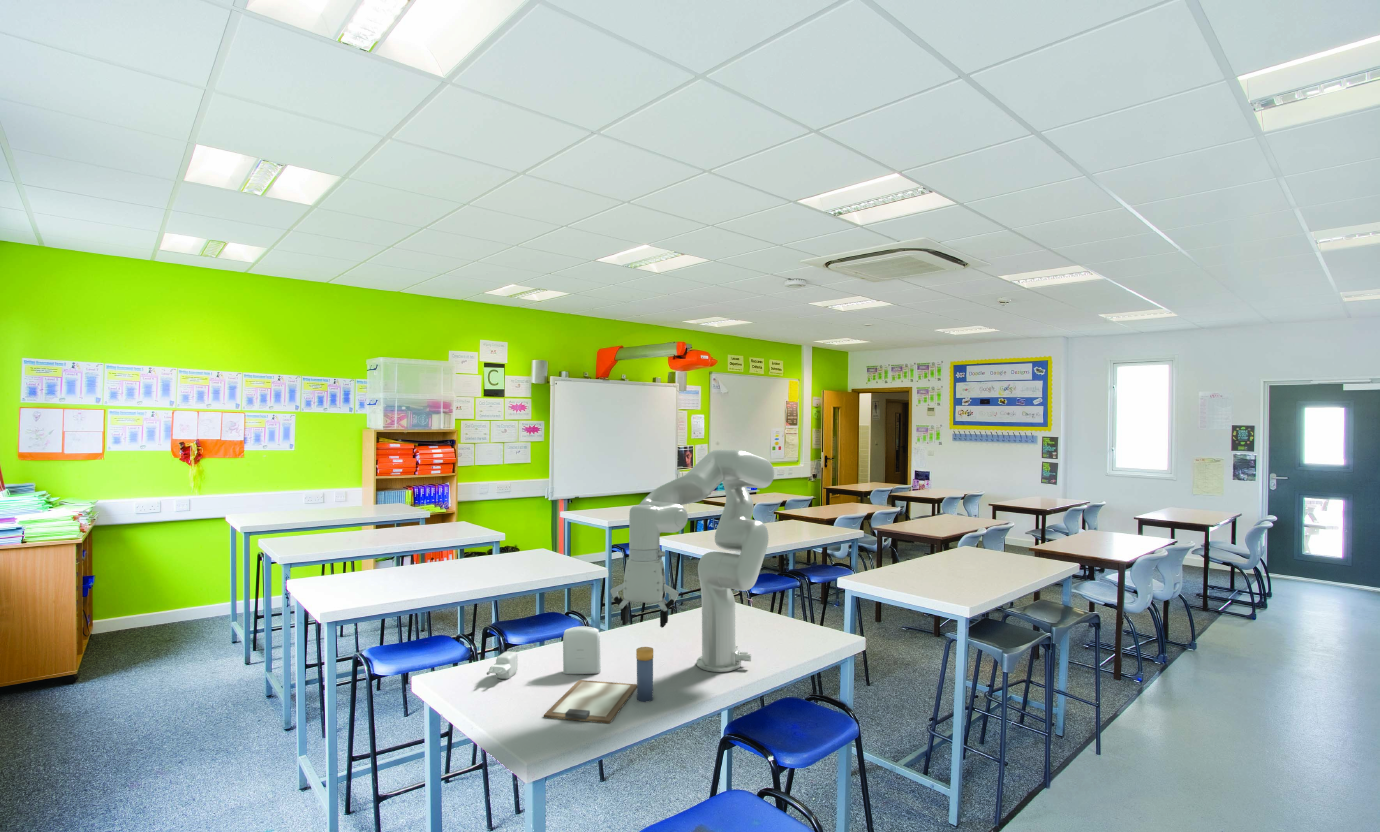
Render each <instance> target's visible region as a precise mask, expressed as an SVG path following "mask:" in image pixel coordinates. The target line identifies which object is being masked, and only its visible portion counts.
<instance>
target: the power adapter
mask: <svg viewBox="0 0 1380 832" xmlns="http://www.w3.org/2000/svg"><path fill="white" fill-rule="evenodd" d="M518 659H519V658H518V652H516V651H508V650H507V651H504V652H503V653H500V655H498V656H497V657H496V659H495V663H494V664H493V665H491V666H490V667H489V669H488V671H487V672H486V675H487V676H488V675H490V674H495V677H496V678H497V679H502V680H508V679H510V678H512V677H513V676H514V675H516V674H517V672H518V664H519V663H518V661H519V660H518Z"/></svg>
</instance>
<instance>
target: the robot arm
mask: <svg viewBox="0 0 1380 832" xmlns="http://www.w3.org/2000/svg"><path fill="white" fill-rule="evenodd" d="M774 478H775V470H774V467H773V464H772V463H771V462H770V460H768V459H766V458H764V457H762V456H759V455H756V454H753V453H751V452H747V451H743V450H739V449H715V450H712V451H709V452H708V453H707V454H706V455H704V457H703V458H701V459H700V460H699V461H698V462H697V463H696V464H695V465H694V466H693V467H692V468H691V469H690V470H689V471H688V472H686V473H685V474H684V475H682V476H679V477H677V478H675V479H673V480H671V481H669V482H667V483H665V484H662V485H660V486H658V487H657V488H655V489H654V490H652V491H651V492H650V493H649V494H647V496H645V497H644V498H643V499H642V500H641V502H640V503H639V504H636V505H633V506H631V507H630V509H629V513H628V514H629V518H628V519H629V523H628V524H629V525H628V526H629V537H628V539H629V541H628V544H629V545H628V546H629V547H628V549H629V552H628V554H629V555H628V557H629V558H628V559H627V560H626V564H625V567H624V568H625V570H624V576H623V583H621V584H619V585H616V586H615V587H612V588H611V589H610V594H611V596H612V598H613V601H614V602H615V603H616V604H617V605H618V608H619V609H620V621H621V622H622V623H621V624H622V626H626V625H627V624H628V623H629V621H630V607H629V603H630V602H631V603H647V604H649V603H650V604H657V605H658V606H659V608H660V609H661V610H660V611H659V627H660V628H663V629H664V627H665V626H666V625H667V624H668V623H669V622H668V621H669V609H670V608H671V607H672V606H673V605H674V603H675V602H676V600H677V598H678V596H679V594H680V593H679V591H677V590H676V589H674V588H673V587H670V586H669V585H667V584H666V581H667V580H666V572H665V571H666V570H665V565H664V560H663V559H661V558H664V557H665V556H666V551H665V550H661V547H660V544H661V543H660V542H661V541H660V540H661V539H660V534H661V533H677V532H680V531H682V530H683V529H684V528H685V527H686V525H687V523H688V519H689V517H688V515H689V514H688V511H687V510H686V508H685V507H684V505H687V504H693V503H697V502H700V501H703V500H706V499H707V498H708V497H709V496H710V495H711V494H712V493H713V491H714V490H715V489H716V488H717V487H719V485H720V484H722V485H723V489H724V493H725V503H724V508H723V510H722V513H721V516H720V518H719V521H718V524H717V527H716V531H715V535H714V542H715V544H716V546H717V548H720V549H722V550H725V551H729V552H725V551H710V552H708V551H707V552H706V553H704V554H703V555H702V556H701V557H700V559H699V561H698V564H697V573H698V574H697V575H698V579H699V585H700V591H701V593H700V594H701V655H700V656H699V657H698V658H697V659H696V665H697V667H698V668H699V669H701V670H703V671H707V672H713V673H724V672H731V671H734V670H737V669H739V668H740V667H741V666H742V662H743V661H744V662H750V663H751V661H752V654H751V653H750V654H749V652H748V651H740V650H739V647H738V646H736V599H735V595H734V593H733V590H736V591H743V592H744V591H745V592H746V591H750V589H752V588H753V587H754V586H755V584H756V583H757V580H758V577H759V574H760V572H761V569H762V565H763V562H764V560H765V556H766V552H767V550H768V546H769V531H768V528H767V526H766V525H765V524H764V522H762V521H761V520H756V519H752V516H753V512H754V501H753V499H752V496H751V494H750V493H749V490H748V488H749V489H750V488H752V489H753V488H754V489H756V488H757V489H765V488H767V487H769V486H770V485H771V484H772V482H773V481H774ZM730 552H731V553H730ZM732 552H736V553H740V554H736V553H732ZM620 591H622V596H623V598H622V597H621V596H620V595H619V592H620ZM667 594H668V595H670V598H669V601H667V600H666V599H665V598H666V596H667Z"/></svg>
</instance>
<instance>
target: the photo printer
mask: <svg viewBox="0 0 1380 832" xmlns="http://www.w3.org/2000/svg"><path fill="white" fill-rule="evenodd" d="M562 662H563V663H562V667H563V668H562V669H563V674H564V675H584V674H585V675H586V674H587V675H588V674H590V675H591V674H592V675H593V674H600V673H601V667H602V666H601V635H600V629H599V628H595V627H591V626H584V625H583V626H574V627H569V628H567V629H565V630H564V632H563V637H562Z"/></svg>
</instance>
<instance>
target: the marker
mask: <svg viewBox="0 0 1380 832" xmlns="http://www.w3.org/2000/svg"><path fill="white" fill-rule="evenodd" d="M635 651H636V652H635V655H636V656H635V657H636V684H637V688H636V700H637V702H640V703H641V702H642V703H648V702H652V701H653V700H654V648H653V647H650V646H641V647H638V648H636V650H635Z"/></svg>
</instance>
